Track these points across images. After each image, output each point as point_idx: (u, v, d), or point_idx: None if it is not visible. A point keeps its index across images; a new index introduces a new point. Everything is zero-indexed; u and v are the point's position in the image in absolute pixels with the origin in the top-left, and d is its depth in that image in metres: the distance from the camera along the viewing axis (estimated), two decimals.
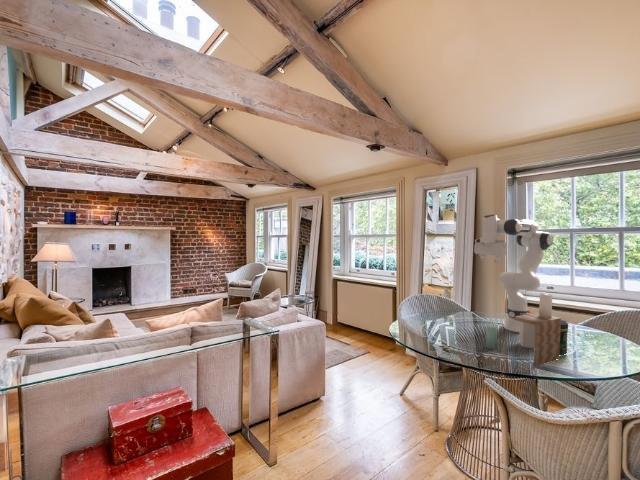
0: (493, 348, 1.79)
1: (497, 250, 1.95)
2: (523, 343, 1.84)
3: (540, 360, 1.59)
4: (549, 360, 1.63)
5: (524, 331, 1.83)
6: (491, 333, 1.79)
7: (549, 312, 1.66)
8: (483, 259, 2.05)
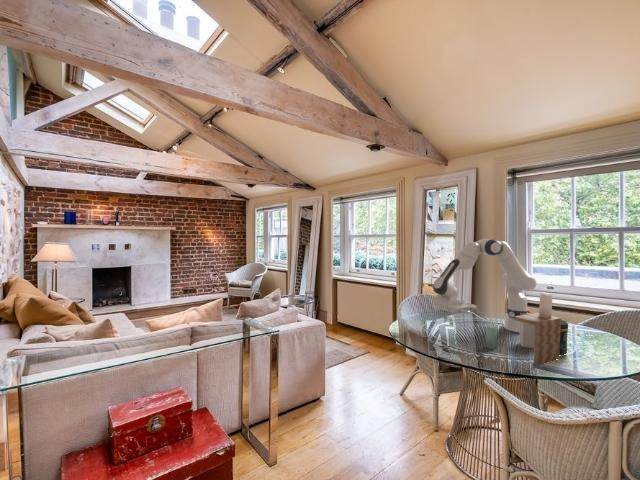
0: (493, 348, 1.79)
1: None
2: (523, 343, 1.84)
3: (540, 360, 1.59)
4: (549, 360, 1.63)
5: (524, 331, 1.83)
6: (491, 333, 1.79)
7: (549, 312, 1.66)
8: (476, 311, 1.95)
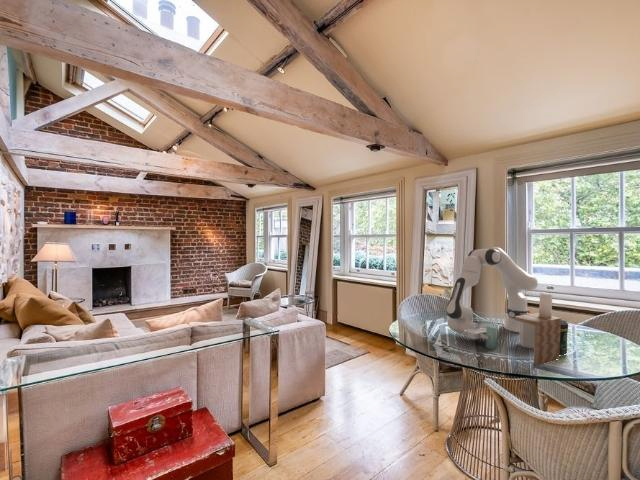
0: (493, 348, 1.79)
1: None
2: (523, 343, 1.84)
3: (540, 360, 1.59)
4: (549, 360, 1.63)
5: (524, 331, 1.83)
6: (491, 333, 1.79)
7: (549, 312, 1.66)
8: None
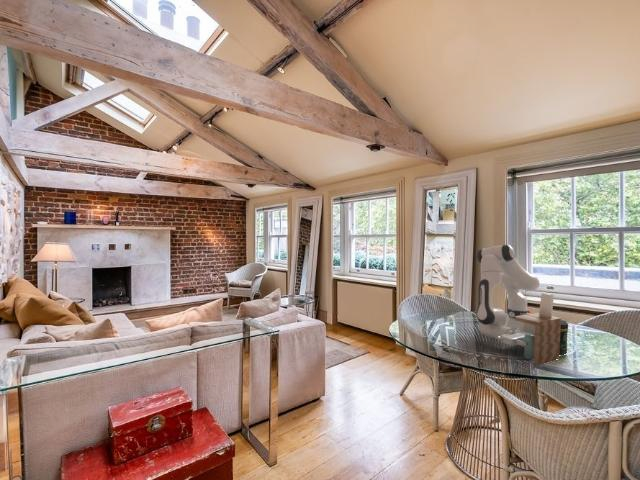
0: (532, 358, 1.66)
1: None
2: None
3: (540, 360, 1.59)
4: (549, 360, 1.63)
5: None
6: (530, 341, 1.66)
7: (550, 312, 1.66)
8: None
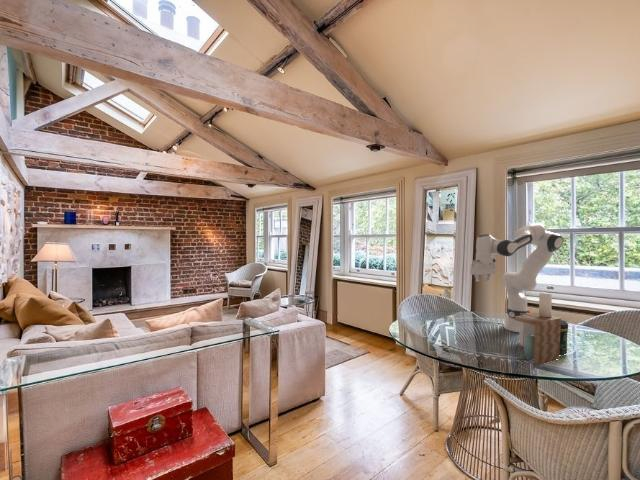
0: (532, 358, 1.66)
1: None
2: (523, 343, 1.84)
3: (540, 360, 1.59)
4: (549, 360, 1.63)
5: (524, 331, 1.83)
6: (531, 342, 1.66)
7: (551, 311, 1.67)
8: None
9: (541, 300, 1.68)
